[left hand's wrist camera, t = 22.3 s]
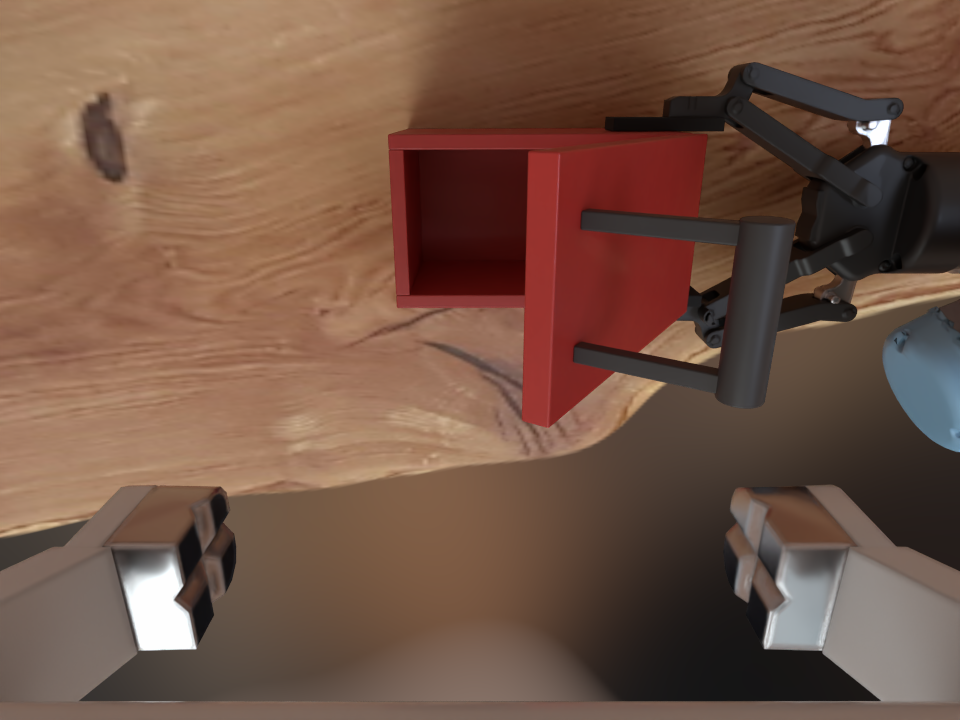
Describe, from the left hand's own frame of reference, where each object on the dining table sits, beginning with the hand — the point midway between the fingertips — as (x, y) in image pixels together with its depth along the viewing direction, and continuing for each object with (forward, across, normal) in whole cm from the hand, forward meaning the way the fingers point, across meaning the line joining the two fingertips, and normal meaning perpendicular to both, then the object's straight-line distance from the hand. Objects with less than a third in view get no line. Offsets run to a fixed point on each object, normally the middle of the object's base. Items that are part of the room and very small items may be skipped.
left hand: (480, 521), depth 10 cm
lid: (+21, +6, 0) cm, 22 cm away
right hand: (+33, +8, 0) cm, 34 cm away
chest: (+39, +3, 0) cm, 39 cm away
